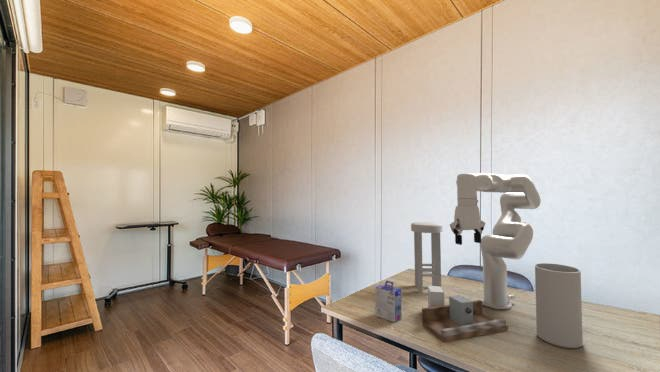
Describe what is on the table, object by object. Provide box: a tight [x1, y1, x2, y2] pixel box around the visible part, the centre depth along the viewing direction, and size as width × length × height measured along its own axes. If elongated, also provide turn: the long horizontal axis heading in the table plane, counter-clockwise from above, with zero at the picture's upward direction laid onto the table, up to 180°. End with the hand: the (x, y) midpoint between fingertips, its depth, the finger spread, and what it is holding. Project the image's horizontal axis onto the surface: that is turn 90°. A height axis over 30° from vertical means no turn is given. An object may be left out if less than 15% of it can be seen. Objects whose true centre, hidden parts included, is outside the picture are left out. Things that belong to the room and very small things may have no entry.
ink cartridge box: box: [374, 279, 403, 323], centre depth 118 cm, size 10×6×14 cm, turn 47°
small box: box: [427, 285, 445, 308], centre depth 121 cm, size 8×6×10 cm
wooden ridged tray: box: [421, 299, 509, 343], centre depth 108 cm, size 28×13×6 cm, turn 106°
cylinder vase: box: [534, 262, 584, 349], centre depth 99 cm, size 12×12×25 cm
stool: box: [410, 221, 444, 294], centre depth 152 cm, size 16×16×35 cm
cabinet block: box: [448, 294, 474, 326], centre depth 109 cm, size 5×8×9 cm, turn 16°
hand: (468, 243), depth 119 cm, fingers open, 9 cm apart
